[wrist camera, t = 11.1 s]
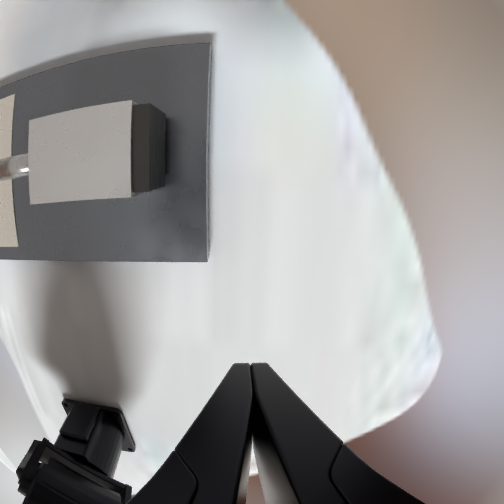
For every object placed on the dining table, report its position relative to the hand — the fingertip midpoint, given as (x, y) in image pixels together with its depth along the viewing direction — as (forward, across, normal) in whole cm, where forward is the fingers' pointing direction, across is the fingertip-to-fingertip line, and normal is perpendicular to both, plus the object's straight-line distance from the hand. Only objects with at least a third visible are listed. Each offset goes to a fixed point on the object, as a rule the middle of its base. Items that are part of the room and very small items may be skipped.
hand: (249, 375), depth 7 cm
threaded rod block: (+10, +10, -6) cm, 15 cm away
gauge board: (+12, +17, -6) cm, 22 cm away
